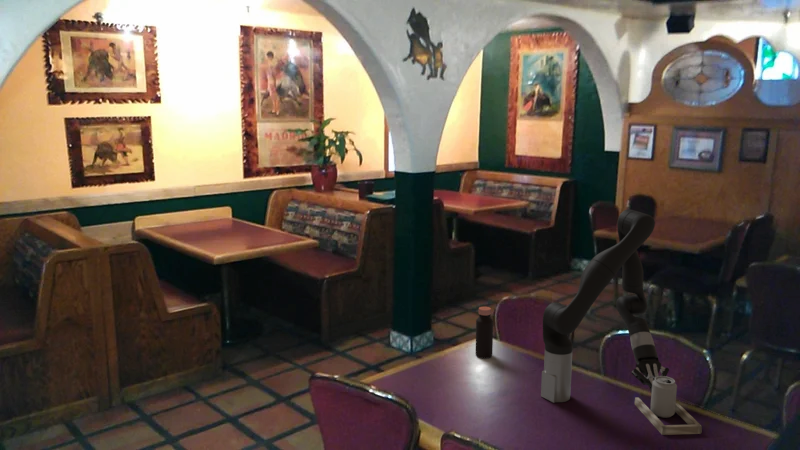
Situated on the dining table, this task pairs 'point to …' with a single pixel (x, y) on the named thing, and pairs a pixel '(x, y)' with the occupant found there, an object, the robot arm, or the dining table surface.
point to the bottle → (484, 333)
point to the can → (663, 396)
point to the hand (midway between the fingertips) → (657, 396)
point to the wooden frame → (691, 428)
